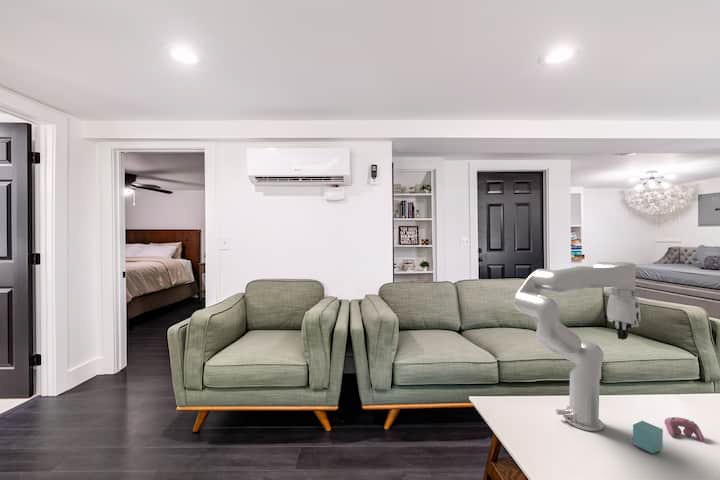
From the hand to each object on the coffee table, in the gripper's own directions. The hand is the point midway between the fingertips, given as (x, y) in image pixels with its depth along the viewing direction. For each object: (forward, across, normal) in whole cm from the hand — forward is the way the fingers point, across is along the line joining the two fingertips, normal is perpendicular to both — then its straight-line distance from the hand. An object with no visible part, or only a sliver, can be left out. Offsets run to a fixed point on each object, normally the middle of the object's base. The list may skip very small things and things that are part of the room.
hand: (622, 338), depth 136 cm
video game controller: (+31, -17, -5) cm, 36 cm away
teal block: (+30, -16, +16) cm, 38 cm away
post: (+31, -17, +16) cm, 39 cm away
